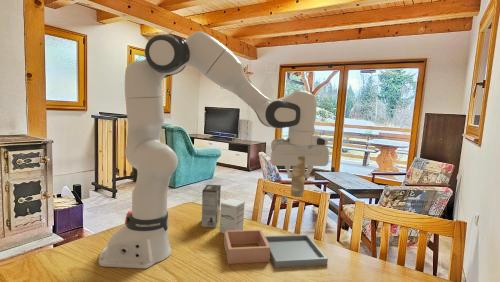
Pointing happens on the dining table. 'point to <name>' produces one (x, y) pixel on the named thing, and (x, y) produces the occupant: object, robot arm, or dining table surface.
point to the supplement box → (231, 215)
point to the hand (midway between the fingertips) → (298, 178)
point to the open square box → (246, 252)
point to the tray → (295, 251)
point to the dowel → (298, 178)
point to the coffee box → (211, 205)
